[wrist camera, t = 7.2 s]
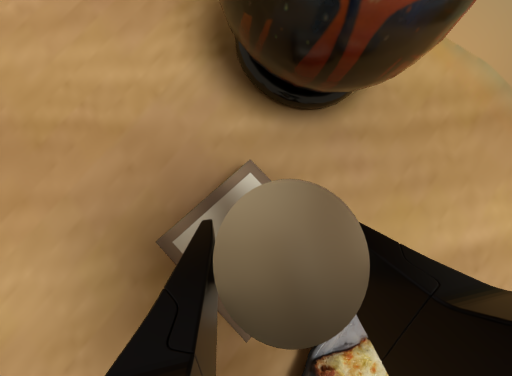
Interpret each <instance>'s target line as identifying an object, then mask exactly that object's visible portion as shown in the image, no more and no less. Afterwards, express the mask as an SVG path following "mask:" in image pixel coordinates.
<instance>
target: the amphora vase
mask: <svg viewBox="0 0 512 376" xmlns="http://www.w3.org/2000/svg"><path fill="white" fill-rule="evenodd" d="M219 1H220V4H221V7H222V9H223V12H224V14H225V16H226V19H227V21H228V24H229V26H230V28H231V30H232V32H233V33H234V35H235V40H236V49H237V56H238V59H239V61H240V63H241V66H242V68H243V71H244V72H245V73H246V74H247V76H248V77H249V78H250V80H251V81H252V82H253V84H254V85H255V86H257V87H258V88H259V89H260V90H262V91H263V92H264V93H265V94H267V95H268V96H269V97H271V98H273V99H275V100H277V101H279V102H281V103H283V104H285V105H289V106H294V107H298V108H303V109H311V108H323V107H327V106H330V105H334V104H336V103H338V102H340V101H341V100H343V99H344V98H346V97H347V96H349V95H350V94H351V93H352V92H353V91H356V90H360V89H363V88H367V87H370V86H374V85H377V84H380V83H382V82H384V81H386V80H389V79H391V78H393V77H395V76H397V75H398V74H399V73H401V72H402V71H404V70H405V69H407V68H408V67H410V66H411V65H413V64H414V63H415V62H417V61H418V60H419V59H420V58H421V57H423V56H424V55H425V54H426V53H427V52H429V51H430V50H431V49H432V48H433V47H435V46H436V45H437V44H438V43H439V42H441V41H442V40H443V39H444V38H445V36H446V35H447V34H448V33H449V32H450V31H451V29H452V28H453V27H454V26H455V25H456V24H457V22H458V21H459V20H460V19H461V18H462V17H463V15H464V14H465V13H466V12H467V11H468V10H469V9H470V7H471V6H472V5H473V4H474V3H475V1H476V0H219Z"/></svg>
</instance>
